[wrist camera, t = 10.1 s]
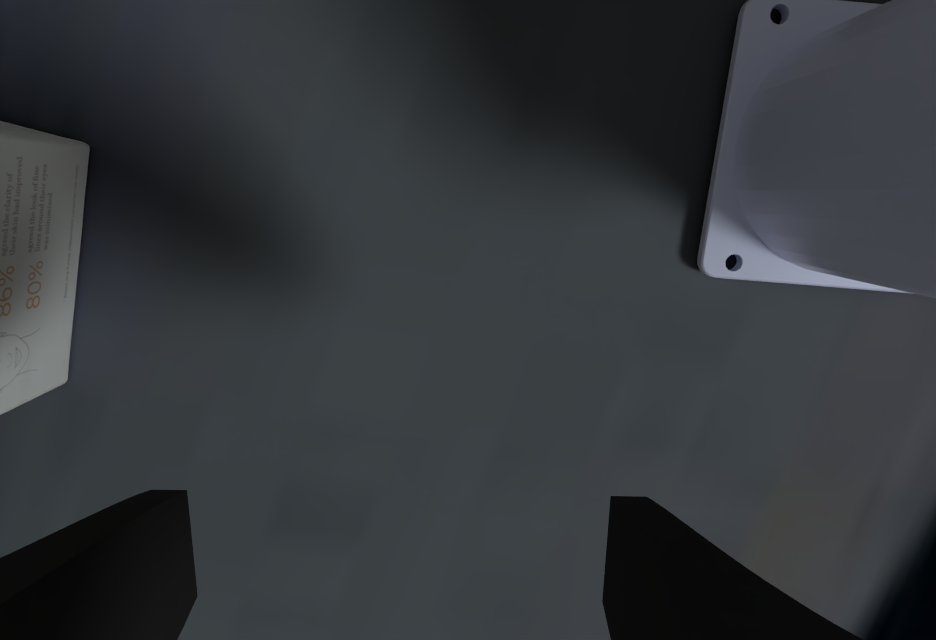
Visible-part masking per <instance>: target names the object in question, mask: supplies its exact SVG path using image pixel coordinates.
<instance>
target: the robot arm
mask: <svg viewBox="0 0 936 640" xmlns="http://www.w3.org/2000/svg"><path fill="white" fill-rule="evenodd" d="M772 8H775V9H777V10H779V11H780V13H781V22H780V24H775V23H773V22H772V20H771V18H770V13H771V10H772ZM733 254H734V255H735V256H736V259H737V262H736V265H735V266H734V267H733V268H732V269H729V270H728V269H727V268H726V263H725V262H726V260H727V258H728V257H729V256H730V255H733ZM697 265H698V267H699V269H700V271H701V272H702V273H704V274H705V275H708V276H711V277H715V278H727V279H740V280H752V281H765V282H777V283H789V284H802V285H814V286H827V287H839V288H851V289H864V290H876V291H888V292H901V293H913V294H918V295H923V296H927V297H932V298H936V0H891V1H889V2H887V3H884V4H874V3H863V2H852V1H841V0H748V1H746V2H745V3H744V5H743V6H742V7H741V9H740V12H739V15H738V21H737V27H736V33H735V39H734V45H733V51H732V57H731V63H730V69H729V75H728V80H727V86H726V92H725V98H724V104H723V110H722V116H721V122H720V128H719V134H718V140H717V146H716V151H715V157H714V163H713V169H712V175H711V181H710V187H709V193H708V199H707V205H706V211H705V216H704V222H703V228H702V234H701V240H700V246H699V252H698V258H697ZM196 598H197V586H196V576H195V566H194V556H193V546H192V536H191V526H190V516H189V506H188V496H187V490H149V491H146V492H144V493H141V494H138V495H135V496H133V497H130V498H128V499H126V500H123V501H121V502H119V503H116V504H114V505H112V506H110V507H108V508H105V509H103V510H101V511H99V512H97V513H95V514H93V515H90V516H88V517H86V518H84V519H82V520H80V521H78V522H76V523H74V524H71V525H69V526H67V527H65V528H63V529H61V530H59V531H57V532H55V533H53V534H50V535H48V536H46V537H44V538H42V539H40V540H38V541H36V542H34V543H32V544H29V545H27V546H25V547H23V548H21V549H19V550H17V551H15V552H13V553H10V554H8V555H6V556H4V557H1V558H0V640H177V639H178V637H179V635H180V633H181V631H182V629H183V627H184V624H185V622H186V620H187V618H188V616H189V613H190V611H191V609H192V607H193V605H194V602H195V600H196ZM603 606H604V610H605V615H606V619H607V624H608V628H609V633H610V637H611V640H862V639H861V638H859V637H857V636H855V635H853V634H852V633H850V632H848V631H846V630H844V629H843V628H841V627H839V626H837V625H835V624H834V623H832V622H830V621H829V620H827V619H825V618H824V617H822V616H820V615H818V614H817V613H815V612H813V611H812V610H810V609H809V608H807V607H805V606H804V605H802V604H801V603H799V602H798V601H796V600H794V599H793V598H791V597H790V596H788V595H787V594H785V593H784V592H782V591H780V590H779V589H777V588H776V587H774V586H773V585H771V584H770V583H768V582H766V581H765V580H763V579H762V578H761V577H759V576H758V575H756V574H755V573H753V572H752V571H750V570H749V569H747V568H746V567H744V566H743V565H742V564H740V563H739V562H737V561H736V560H734V559H733V558H732V557H730V556H729V555H727V554H726V553H725V552H723V551H722V550H720V549H719V548H718V547H716V546H715V545H714V544H712V543H711V542H709V541H708V540H707V539H705V538H704V537H703V536H701V535H700V534H699V533H697V532H696V531H694V530H693V529H692V528H690V527H689V526H688V525H686V524H685V523H684V522H682V521H681V520H680V519H678V518H677V517H676V516H674V515H673V514H671V513H670V512H669V511H667V510H666V509H664V508H663V507H662V506H660V505H659V504H657V503H656V502H654V501H653V500H651V499H649V498H648V497H628V496H611V499H610V512H609V525H608V537H607V550H606V563H605V575H604V588H603Z"/></svg>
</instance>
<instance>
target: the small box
mask: <svg viewBox="0 0 936 640" xmlns="http://www.w3.org/2000/svg"><path fill="white" fill-rule="evenodd" d="M89 152H90V147H89V145H88V144H86V143H84V142H81V141H77V140H73V139H69V138H65V137H61V136H56V135H53V134H49V133H45V132H41V131H37V130H34V129H30V128H26V127H22V126H18V125H15V124H11V123H7V122H3V121H0V415H1V414H3V413H5V412H7V411H9V410H12V409H13V408H15V407H17V406H19V405H21V404H23V403H25V402H27V401H30V400H32V399H34V398H36V397H38V396H40V395H42V394H44V393H46V392H48V391H50V390H52V389H54V388H56V387H58V386H61V385H62V384H64V383H66V381H67V379H68V369H69V357H70V346H71V335H72V325H73V315H74V306H75V295H76V284H77V273H78V264H79V254H80V245H81V235H82V224H83V213H84V201H85V190H86V181H87V171H88V160H89Z"/></svg>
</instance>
